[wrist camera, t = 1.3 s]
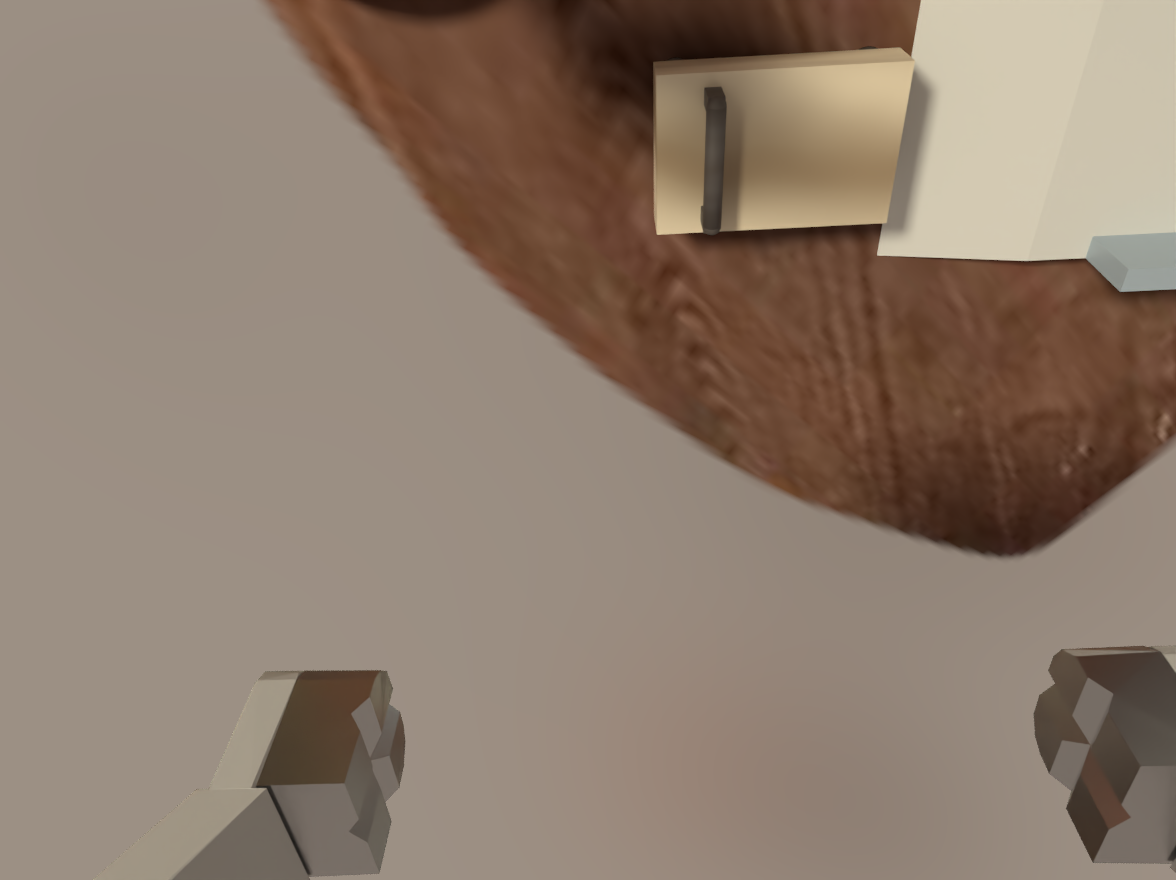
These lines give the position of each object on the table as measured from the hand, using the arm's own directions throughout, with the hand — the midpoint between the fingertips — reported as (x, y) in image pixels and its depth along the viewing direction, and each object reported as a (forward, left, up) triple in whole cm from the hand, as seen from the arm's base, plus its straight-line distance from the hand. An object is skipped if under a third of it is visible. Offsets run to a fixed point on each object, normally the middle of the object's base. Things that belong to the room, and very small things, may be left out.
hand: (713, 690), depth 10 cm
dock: (+2, +20, -29) cm, 36 cm away
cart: (+2, +5, -28) cm, 29 cm away
